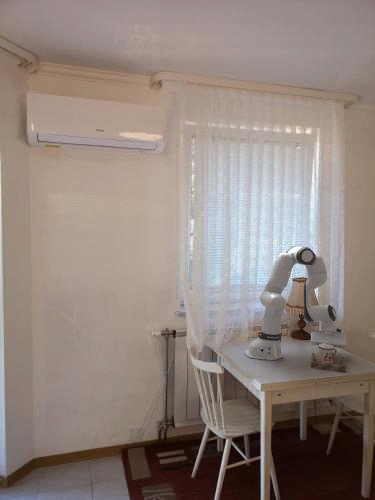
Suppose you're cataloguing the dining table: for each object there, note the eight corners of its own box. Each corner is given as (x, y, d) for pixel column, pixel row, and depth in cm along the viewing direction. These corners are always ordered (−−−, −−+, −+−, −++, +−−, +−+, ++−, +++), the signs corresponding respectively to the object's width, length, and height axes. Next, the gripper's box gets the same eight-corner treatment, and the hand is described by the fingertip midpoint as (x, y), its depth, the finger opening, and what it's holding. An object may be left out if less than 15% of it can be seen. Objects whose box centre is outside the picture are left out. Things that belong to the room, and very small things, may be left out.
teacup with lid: (324, 364, 207) (325, 344, 206) (314, 359, 215) (314, 340, 215) (341, 362, 210) (342, 343, 210) (330, 357, 219) (331, 338, 218)
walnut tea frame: (311, 367, 201) (311, 362, 201) (312, 357, 218) (312, 352, 218) (345, 372, 195) (345, 366, 195) (343, 361, 212) (343, 356, 212)
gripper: (310, 327, 224) (309, 347, 216) (346, 330, 217) (347, 351, 209) (310, 332, 229) (309, 352, 220) (345, 336, 222) (346, 356, 213)
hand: (328, 352), depth 214 cm, fingers closed
